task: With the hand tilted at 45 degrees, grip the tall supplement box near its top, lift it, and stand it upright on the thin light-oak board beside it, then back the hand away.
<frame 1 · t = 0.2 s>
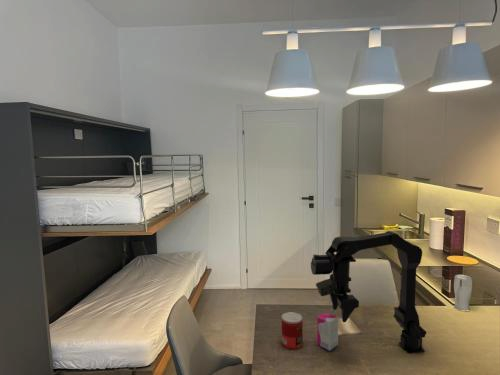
hand: (339, 315, 121), 15 cm above the table, tool pointing down, fingers open, 9 cm apart
beer glass: (461, 309, 155), on the table
canned food: (292, 344, 130), on the table
oak board: (341, 328, 141), on the table
supplement box: (327, 346, 128), on the table
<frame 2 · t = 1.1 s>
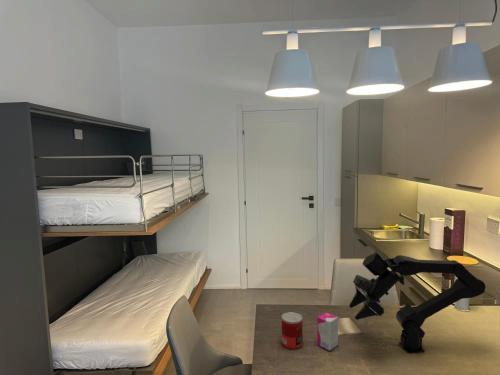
hand: (352, 312, 126), 13 cm above the table, tool tilted 45°, fingers open, 9 cm apart
nothing on the table moved.
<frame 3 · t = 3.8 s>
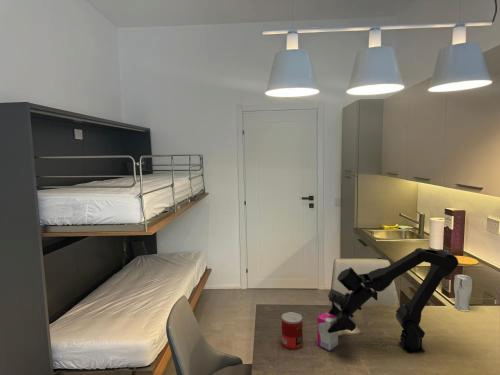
hand: (326, 326, 128), 8 cm above the table, tool tilted 45°, fingers closed on supplement box, 8 cm apart
supplement box: (327, 346, 128), on the table, touching gripper
everything else where it was.
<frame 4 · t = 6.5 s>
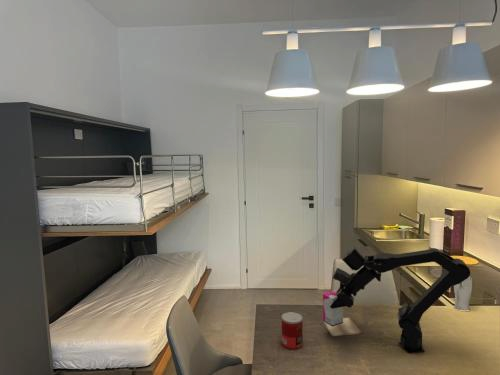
hand: (332, 303, 134), 13 cm above the table, tool tilted 45°, fingers closed on supplement box, 8 cm apart
supplement box: (333, 322, 135), point 5 cm above the table, touching gripper
everything else where it was.
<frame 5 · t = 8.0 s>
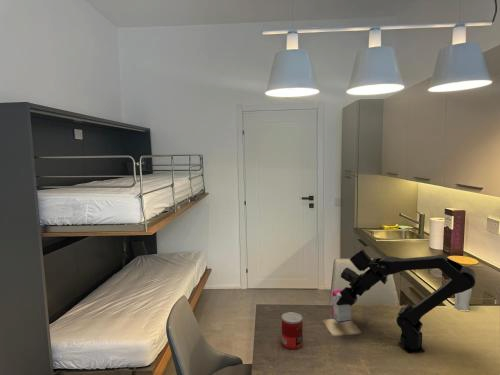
hand: (340, 300, 140), 12 cm above the table, tool tilted 45°, fingers closed on supplement box, 8 cm apart
supplement box: (341, 319, 141), point 4 cm above the table, touching gripper
everything else where it was.
when the fingers open (9 cm above the table, at t = 9.2 s): supplement box drops 1 cm, resting on oak board.
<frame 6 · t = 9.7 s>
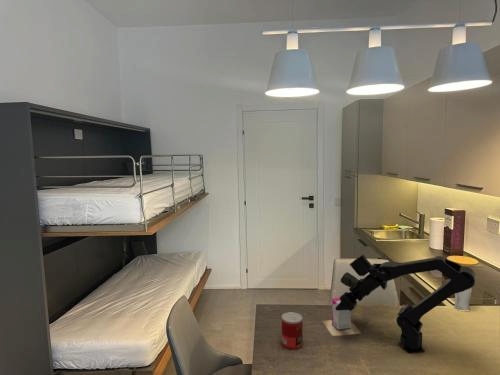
hand: (340, 305, 140), 10 cm above the table, tool tilted 45°, fingers open, 9 cm apart
oak board: (341, 329, 141), on the table, touching supplement box
supplement box: (341, 327, 141), resting on oak board
everything else where it was.
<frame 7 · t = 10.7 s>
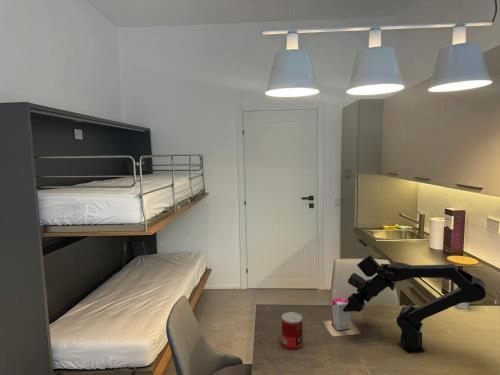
hand: (347, 306, 139), 10 cm above the table, tool tilted 45°, fingers open, 9 cm apart
supplement box: (340, 327, 141), resting on oak board
everything else where it was.
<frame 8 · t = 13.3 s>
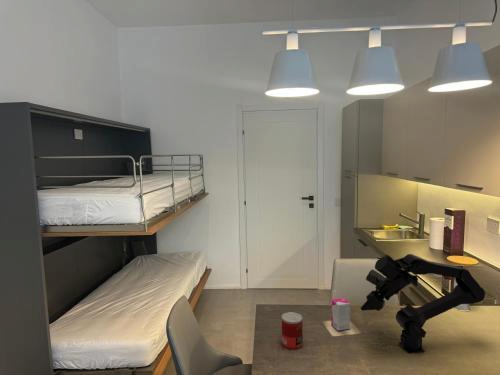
hand: (364, 304, 132), 14 cm above the table, tool tilted 45°, fingers open, 9 cm apart
nothing on the table moved.
at the end: supplement box 0.2 cm off-centre on the oak board, point 1.0 cm above the oak board's base; supplement box tilted 0°; the gripper is holding nothing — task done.
